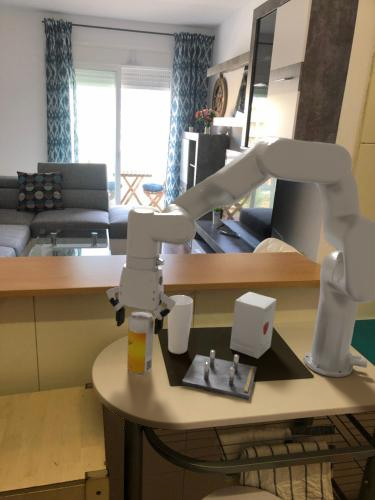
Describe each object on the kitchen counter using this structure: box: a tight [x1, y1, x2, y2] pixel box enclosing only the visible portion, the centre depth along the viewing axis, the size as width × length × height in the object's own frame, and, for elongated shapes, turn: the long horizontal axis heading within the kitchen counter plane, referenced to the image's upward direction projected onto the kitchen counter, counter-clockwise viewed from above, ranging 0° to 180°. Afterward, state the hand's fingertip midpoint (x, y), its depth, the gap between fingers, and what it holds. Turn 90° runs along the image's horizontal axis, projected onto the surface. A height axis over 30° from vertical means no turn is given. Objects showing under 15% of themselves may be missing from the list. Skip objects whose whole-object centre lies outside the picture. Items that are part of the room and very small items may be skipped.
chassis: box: [181, 349, 257, 401], centre depth 103 cm, size 16×13×5 cm
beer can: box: [126, 309, 155, 376], centre depth 103 cm, size 6×6×15 cm
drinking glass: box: [166, 294, 194, 355], centre depth 114 cm, size 7×7×15 cm
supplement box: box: [229, 291, 277, 360], centre depth 117 cm, size 9×9×15 cm
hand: (138, 328), depth 102 cm, fingers open, 9 cm apart
